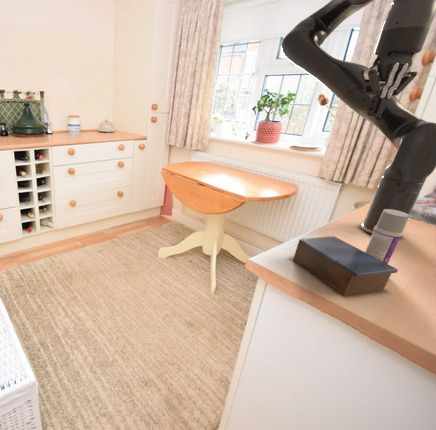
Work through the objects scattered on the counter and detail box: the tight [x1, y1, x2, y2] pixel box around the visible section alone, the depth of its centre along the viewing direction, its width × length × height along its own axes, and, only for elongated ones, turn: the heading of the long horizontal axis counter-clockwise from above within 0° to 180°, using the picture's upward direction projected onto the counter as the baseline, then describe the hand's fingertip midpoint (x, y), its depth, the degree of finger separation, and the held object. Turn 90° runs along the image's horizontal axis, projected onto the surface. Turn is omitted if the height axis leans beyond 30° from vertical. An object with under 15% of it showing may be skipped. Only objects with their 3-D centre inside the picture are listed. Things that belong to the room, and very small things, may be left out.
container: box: [364, 209, 410, 265], centre depth 69 cm, size 5×5×15 cm
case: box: [292, 241, 392, 297], centre depth 68 cm, size 14×10×5 cm
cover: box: [298, 235, 399, 277], centre depth 66 cm, size 15×10×1 cm
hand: (373, 115), depth 67 cm, fingers closed
